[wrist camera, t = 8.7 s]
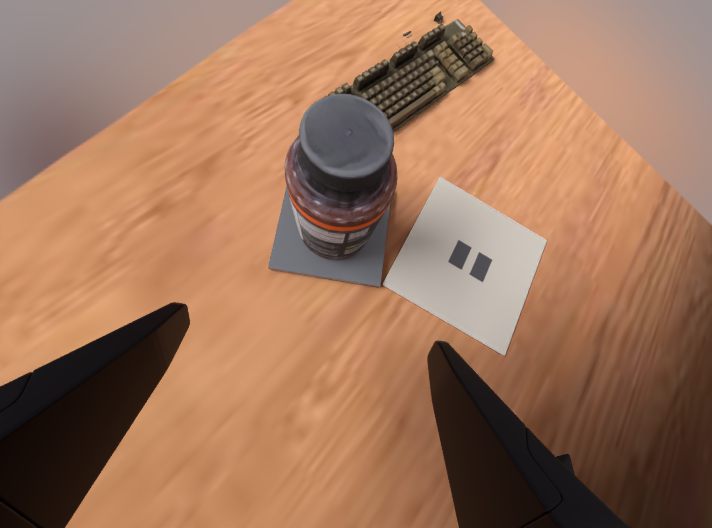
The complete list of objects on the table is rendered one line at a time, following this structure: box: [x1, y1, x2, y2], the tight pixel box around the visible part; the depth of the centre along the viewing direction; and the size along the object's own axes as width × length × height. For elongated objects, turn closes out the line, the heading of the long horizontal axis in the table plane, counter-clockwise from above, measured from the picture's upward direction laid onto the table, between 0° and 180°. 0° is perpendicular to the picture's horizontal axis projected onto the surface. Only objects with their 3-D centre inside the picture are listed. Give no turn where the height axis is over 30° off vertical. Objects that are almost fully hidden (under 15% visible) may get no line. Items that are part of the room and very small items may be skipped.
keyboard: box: [323, 12, 495, 132], centre depth 26 cm, size 22×9×2 cm, turn 132°
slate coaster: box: [268, 187, 391, 287], centre depth 22 cm, size 9×9×1 cm
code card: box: [382, 177, 547, 356], centre depth 23 cm, size 12×12×1 cm
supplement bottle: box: [285, 94, 397, 260], centre depth 16 cm, size 6×6×11 cm
